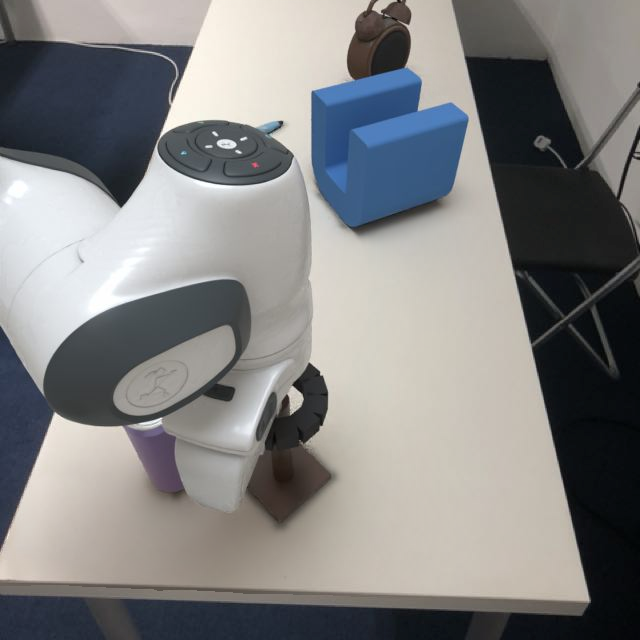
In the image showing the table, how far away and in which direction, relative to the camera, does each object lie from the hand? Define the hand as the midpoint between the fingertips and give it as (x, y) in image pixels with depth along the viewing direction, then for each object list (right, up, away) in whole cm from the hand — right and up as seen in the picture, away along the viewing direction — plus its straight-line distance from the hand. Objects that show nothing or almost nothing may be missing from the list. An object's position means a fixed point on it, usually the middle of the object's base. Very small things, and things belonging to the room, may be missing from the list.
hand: (263, 429), depth 52 cm
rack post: (+1, -9, +16) cm, 18 cm away
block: (+16, +32, +51) cm, 62 cm away
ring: (+1, +2, +4) cm, 4 cm away
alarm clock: (+18, +61, +76) cm, 99 cm away
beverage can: (-12, -8, +16) cm, 22 cm away
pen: (-10, +45, +62) cm, 77 cm away
